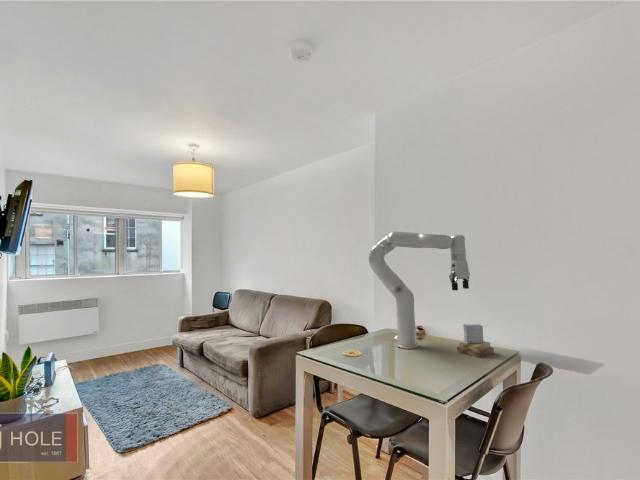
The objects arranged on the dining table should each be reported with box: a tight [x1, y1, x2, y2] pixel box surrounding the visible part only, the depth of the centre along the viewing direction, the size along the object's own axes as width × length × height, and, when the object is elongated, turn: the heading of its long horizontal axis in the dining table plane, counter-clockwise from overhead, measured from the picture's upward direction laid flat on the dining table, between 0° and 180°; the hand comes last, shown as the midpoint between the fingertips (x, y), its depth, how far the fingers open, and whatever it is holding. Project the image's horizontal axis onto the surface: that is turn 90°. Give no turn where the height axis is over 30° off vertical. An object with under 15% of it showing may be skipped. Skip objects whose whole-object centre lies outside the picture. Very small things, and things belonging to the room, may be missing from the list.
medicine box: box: [462, 323, 484, 343], centre depth 161 cm, size 8×4×9 cm, turn 84°
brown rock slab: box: [456, 340, 495, 359], centre depth 161 cm, size 12×12×5 cm
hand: (460, 289), depth 174 cm, fingers open, 9 cm apart
